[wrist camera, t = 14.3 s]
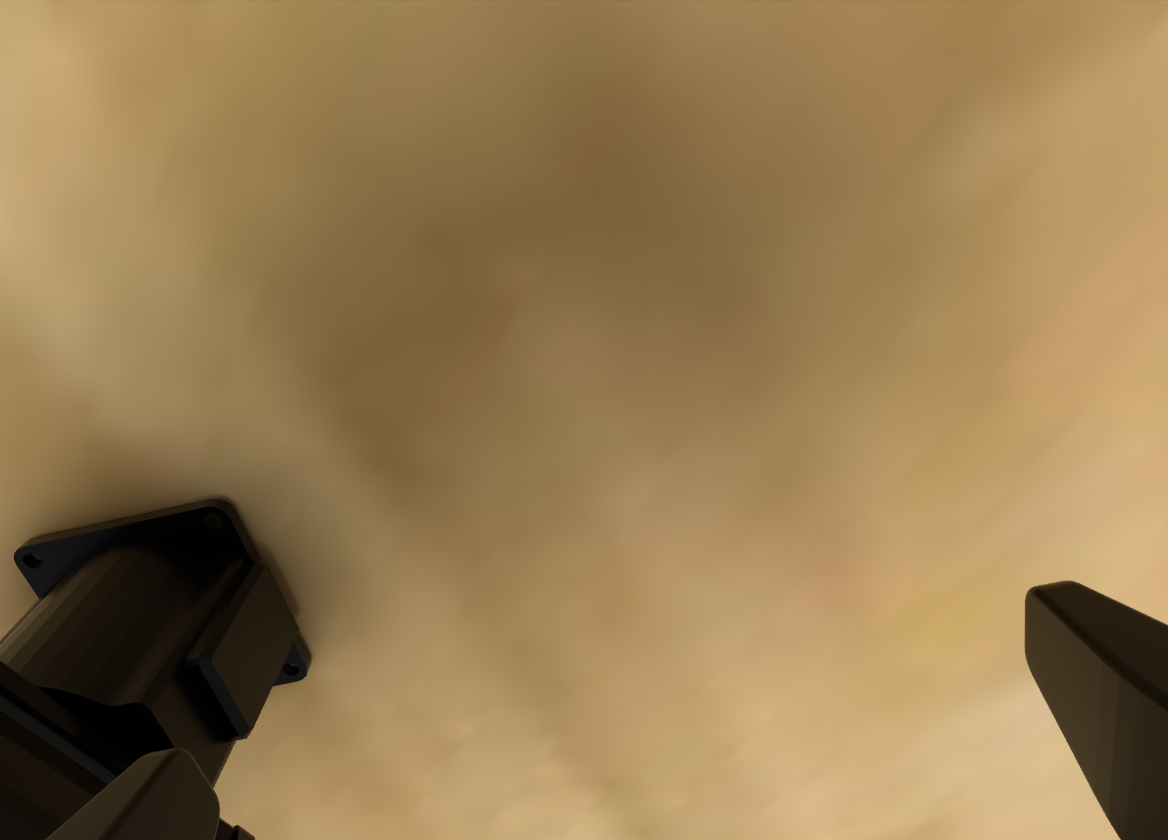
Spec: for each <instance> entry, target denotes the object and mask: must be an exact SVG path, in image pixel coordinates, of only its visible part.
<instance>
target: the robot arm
mask: <svg viewBox="0 0 1168 840" xmlns="http://www.w3.org/2000/svg"><path fill="white" fill-rule="evenodd" d="M210 514H215V515H217V516H219V517H220V518H221V519H222V521H223V522H218V521H216V520H214V519H213V518H212V517H211V515H210ZM33 554H34V555H36V556H38V557H39V558H40V559H41V560H40V559H37V558H36V557H35V556H34V555H33ZM14 560H15V563H16V565H17V566H18V568H19V569H20V571H21V572H22V574H23V575H24V577H25V578H26V580H27V581H28V583H29V584H30V586H31V587H32V589H33V590H34V592H35V593H36V595H37V596H38V598H39V600H38V601H37V602H36V603H35V604H34V605H33V606H32V607H31V608H30V610H29V611H28V612H27V613H26V614H25V615H24V616H23V617H22V618H21V619H20V620H19V621H18V622H17V623H16V624H15V625H14V626H13V627H12V628H11V630H10V631H9V632H8V633H7V634H6V635H5V636H4V637H3V638H2V639H1V640H0V840H255V837H254V836H253V835H251V834H250V833H248V832H247V831H246V830H244V829H243V828H241V827H240V826H238V825H236V826H234V827H232V826H231V825H230V824H228V823H227V822H225V821H224V820H223V819H221V818H220V807H219V801H218V797H217V795H216V793H215V791H214V790H213V788H214V786H215V784H216V782H217V779H218V777H219V775H220V773H221V771H222V769H223V767H224V765H225V763H226V761H227V759H228V757H229V755H230V752H231V750H232V748H233V746H234V744H235V742H236V741H237V740H242V739H246V738H247V737H248V736H249V734H250V733H251V731H252V729H253V728H254V725H255V723H256V721H257V719H258V717H259V715H260V712H261V710H262V708H263V706H264V704H265V702H266V700H267V697H268V695H269V693H270V691H271V689H272V687H273V686H277V685H282V684H287V683H292V682H297V681H300V680H302V679H303V678H305V677H306V675H307V673H308V670H309V668H310V665H311V659H310V656H309V654H308V652H307V650H306V648H305V646H304V644H303V642H302V640H301V638H300V636H299V634H298V626H297V624H296V622H295V620H294V618H293V616H292V614H291V612H290V610H289V608H288V606H287V604H286V602H285V600H284V598H283V596H282V594H281V592H280V590H279V588H278V586H277V584H276V582H275V580H274V578H273V576H272V574H271V572H270V570H269V568H268V566H267V565H265V564H264V563H263V562H262V561H261V559H260V557H259V555H258V553H257V551H256V549H255V547H254V545H253V543H252V541H251V539H250V537H249V535H248V533H247V531H246V529H245V527H244V526H243V524H242V522H241V520H240V518H239V516H238V514H237V512H236V510H235V509H234V507H233V506H232V505H231V504H229V503H228V502H226V501H224V500H220V499H210V500H206V501H201V502H197V503H192V504H188V505H183V506H179V507H174V508H170V509H165V510H160V511H156V512H151V513H147V514H142V515H138V516H133V517H129V518H124V519H119V520H115V521H110V522H106V523H101V524H97V525H92V526H88V527H83V528H79V529H74V530H69V531H65V532H60V533H56V534H51V535H47V536H42V537H38V538H33V539H30V540H28V541H26V542H25V543H24V544H23V545H22V546H21V547H20V548H18V549H17V551H16V552H15V553H14ZM1025 655H1026V659H1027V663H1028V666H1029V669H1030V671H1031V673H1032V675H1033V677H1034V679H1035V681H1036V683H1037V685H1038V687H1039V689H1040V691H1041V693H1042V695H1043V697H1044V699H1045V701H1046V702H1047V704H1048V706H1049V708H1050V710H1051V712H1052V714H1053V716H1054V718H1055V720H1056V722H1057V724H1058V726H1059V727H1060V729H1061V731H1062V733H1063V735H1064V737H1065V739H1066V741H1067V743H1068V745H1069V747H1070V749H1071V751H1072V752H1073V754H1074V756H1075V758H1076V760H1077V762H1078V764H1079V766H1080V768H1081V770H1082V772H1083V774H1084V775H1085V777H1086V779H1087V781H1088V783H1089V785H1090V787H1091V789H1092V791H1093V793H1094V795H1095V796H1096V798H1097V800H1098V802H1099V804H1100V806H1101V807H1102V809H1103V811H1104V813H1105V815H1106V817H1107V818H1108V820H1109V822H1110V823H1111V825H1112V826H1113V828H1114V830H1115V831H1116V833H1117V834H1118V836H1119V838H1120V839H1121V840H1168V625H1167V624H1165V623H1163V622H1160V621H1158V620H1156V619H1154V618H1152V617H1150V616H1148V615H1146V614H1143V613H1141V612H1139V611H1137V610H1135V609H1133V608H1131V607H1129V606H1127V605H1124V604H1122V603H1120V602H1118V601H1116V600H1114V599H1112V598H1110V597H1107V596H1105V595H1103V594H1101V593H1099V592H1097V591H1095V590H1093V589H1090V588H1088V587H1086V586H1084V585H1082V584H1080V583H1077V582H1074V581H1060V582H1055V583H1050V584H1044V585H1039V586H1035V587H1032V588H1031V589H1029V590H1028V592H1027V594H1026V598H1025ZM289 663H293V664H295V665H297V666H292V665H290V664H289Z"/></svg>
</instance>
